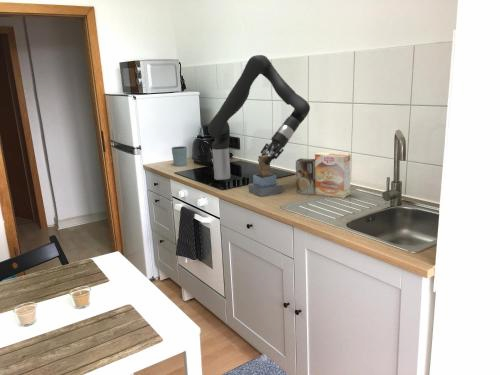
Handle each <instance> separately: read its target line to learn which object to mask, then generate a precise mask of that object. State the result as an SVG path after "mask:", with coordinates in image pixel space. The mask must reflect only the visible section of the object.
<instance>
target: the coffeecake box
mask: <svg viewBox="0 0 500 375" xmlns="http://www.w3.org/2000/svg"><path fill="white" fill-rule="evenodd" d="M351 156H352V155H351V153H341V152H330V151H320V152H316V153H315V154H314V159H315V194H314V195H320V196H326V197H332V196H333V197H334V198H340V199H346V196H347V197H348V196H350V195H351V161H352V160H351Z"/></svg>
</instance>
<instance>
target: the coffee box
mask: <svg viewBox="0 0 500 375" xmlns="http://www.w3.org/2000/svg"><path fill="white" fill-rule="evenodd" d="M295 177H296V178H295V180H296V183H295V184H296V185H295V186H296V194H301V195H311V196H312V195H316V194H315V158H299V159H297V160H295Z"/></svg>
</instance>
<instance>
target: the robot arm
mask: <svg viewBox="0 0 500 375" xmlns="http://www.w3.org/2000/svg"><path fill="white" fill-rule="evenodd" d="M244 66H245V67H244V69H243V71H242V72H241V75H240V77H239V78H238V80H237V81H236V82H235V84H234V86H233V87H232V89H231V90H230V92H229V93H228V95H227V97H226V99H225V100H224V102H223V103H222V105H221V107H220V109H219V111H217V113H216V114H215V116H214V117H213V118H212V119H211V121H210V122H209V123H208V126H207V132H208V134H209V135H210V137H213V138H215V140H214V141H213V142H212V144H211V150H212V163H213V175H214V176H213V178H214V180H216V181H223V180H229V179H231V165H230V164H231V161H230V148H229V145H230V143H231V141H230V140H231V138H230V137H231V134H230V132H231V131H230V124H229V122H228V121H229V120H230V119H231V118H232V117H233V116H234V115H236V113H238V112H239V110H241V108H242V107H243V106H244V105H245V103H246V101H247V100H248V97H249V95H250V92H251V87H252V85H253V83H254V82H255V81H256V79H257V78H258V77H259V75H262V76H264V77H265V79H267V80H268V82H270V84H271V86H272V88H273V89H274V91H275V92H276V94H277V96H279V98H280V99H281V100H282V101H283V102H284V103H285V104H286V105H290V106H291V107H292V108H293V110H292V112H291V114H290V115H289V116H287V118H286V119H285V120H284V122H283V123H282V124H281V125H280V126H279V128H278V129H277V130H276V131H275V133H274V134H273V136H271V142H269V143H265V145H264V146H263V147H262V149H261V151H260V154H261V155H260V156H263V155H267V156H270V157H268V158H267V160H266V161H265V164H266V165H269V164H270V165H271V162H272V161H273V160H277V159H278V158H279V157H280V155H282V153H283V152H284V148H285V147H286V145H287V144H288V143H289V141H290V140H291V139H292V137H293V135H294V133H295V132H296V130H297V129H298V128H299V126H300V125H301V124H302V122H303V121H304V120H305V119H306V118H307V116H308V115H309V113H310V110H311V107H310V104H309V102H308V101H307V100H306V99H305V98H304V97H302V96H300V95H299V94H297V92H296V91H295V90H293V88H292V86H290V85H289V84H288V83H287V82H286V81H285V80H284V78H283V77H282V76H281V75H280V73H279V72H278V71H277V70H276V67H274V65H273V64H272V62H271V61H270V59H268V57H267V56H265V55H264V54H263V55H262V54H258V55H257V54H256V55H253V56H251V57H249V59H248V61H247V62H246V64H245V65H244ZM257 161H258V163H259V158H258V159H257Z"/></svg>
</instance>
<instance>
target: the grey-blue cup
mask: <svg viewBox="0 0 500 375" xmlns="http://www.w3.org/2000/svg"><path fill="white" fill-rule="evenodd" d="M171 154H172V162H173V166H174V167H185V166H187V164H188V162H187V161H188V160H187V157H188V155H187V154H188V148H187V146H185V145H183V146H182V145H180V146H172V147H171Z"/></svg>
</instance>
